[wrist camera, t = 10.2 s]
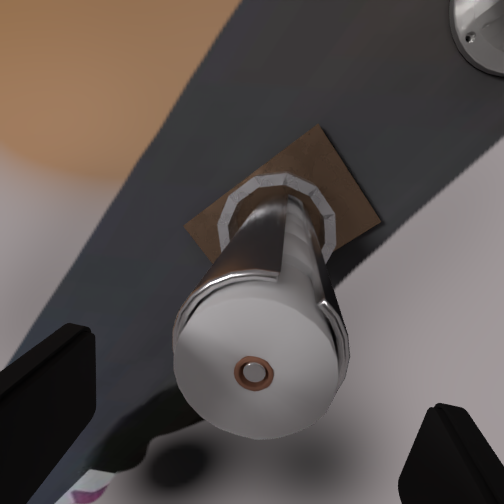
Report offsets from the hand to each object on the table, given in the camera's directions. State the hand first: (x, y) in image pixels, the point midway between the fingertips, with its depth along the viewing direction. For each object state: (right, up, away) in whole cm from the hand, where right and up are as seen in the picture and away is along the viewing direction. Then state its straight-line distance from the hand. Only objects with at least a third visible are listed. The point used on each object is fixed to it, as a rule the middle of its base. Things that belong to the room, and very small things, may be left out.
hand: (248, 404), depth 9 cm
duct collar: (+3, +8, +27) cm, 28 cm away
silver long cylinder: (+3, +7, +25) cm, 27 cm away
